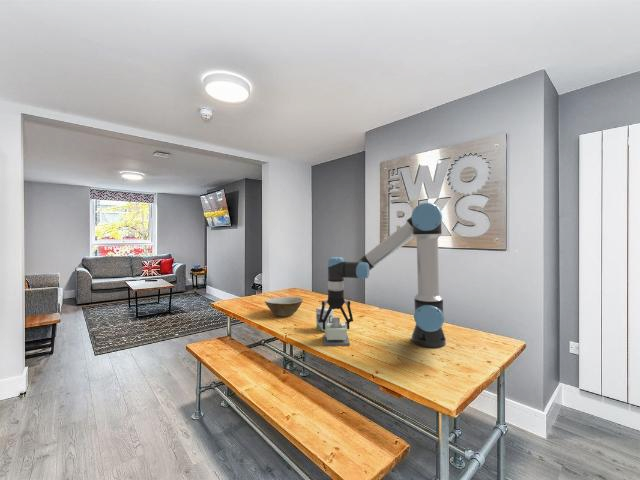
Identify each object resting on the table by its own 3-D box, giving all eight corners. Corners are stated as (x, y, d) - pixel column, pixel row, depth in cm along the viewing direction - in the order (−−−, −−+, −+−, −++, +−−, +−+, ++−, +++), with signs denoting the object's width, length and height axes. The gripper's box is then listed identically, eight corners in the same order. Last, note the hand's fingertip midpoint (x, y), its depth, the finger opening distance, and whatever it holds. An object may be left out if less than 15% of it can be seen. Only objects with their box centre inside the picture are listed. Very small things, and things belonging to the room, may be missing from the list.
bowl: (271, 309, 204) (271, 294, 204) (306, 310, 201) (306, 295, 200) (259, 319, 181) (259, 302, 180) (298, 320, 177) (298, 304, 177)
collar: (344, 333, 149) (344, 323, 149) (346, 339, 140) (346, 329, 140) (326, 333, 149) (326, 323, 149) (326, 339, 140) (326, 329, 140)
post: (347, 336, 151) (347, 314, 151) (349, 345, 139) (349, 322, 139) (323, 336, 151) (323, 314, 150) (323, 345, 139) (323, 322, 139)
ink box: (334, 330, 160) (334, 308, 159) (327, 333, 156) (327, 310, 156) (322, 327, 166) (322, 305, 165) (315, 329, 162) (315, 307, 162)
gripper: (357, 287, 148) (357, 333, 149) (313, 288, 148) (313, 333, 148) (359, 290, 140) (359, 338, 141) (313, 291, 140) (313, 338, 141)
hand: (336, 335), depth 145 cm, fingers closed on collar, 9 cm apart
